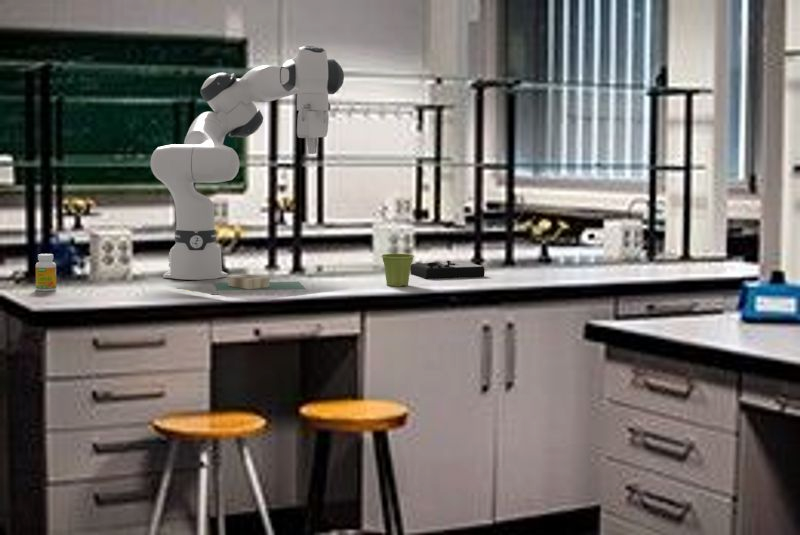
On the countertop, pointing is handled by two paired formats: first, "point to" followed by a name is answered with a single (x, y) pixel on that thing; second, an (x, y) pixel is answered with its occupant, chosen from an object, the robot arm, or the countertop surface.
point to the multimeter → (447, 270)
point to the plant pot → (397, 268)
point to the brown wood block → (248, 282)
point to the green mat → (271, 287)
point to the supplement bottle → (45, 273)
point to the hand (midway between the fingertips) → (312, 153)
